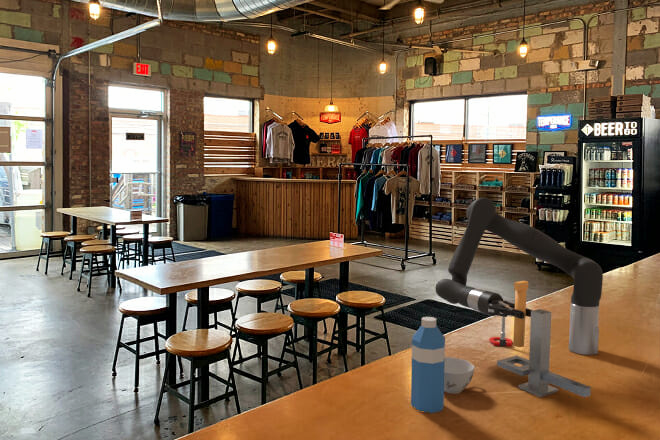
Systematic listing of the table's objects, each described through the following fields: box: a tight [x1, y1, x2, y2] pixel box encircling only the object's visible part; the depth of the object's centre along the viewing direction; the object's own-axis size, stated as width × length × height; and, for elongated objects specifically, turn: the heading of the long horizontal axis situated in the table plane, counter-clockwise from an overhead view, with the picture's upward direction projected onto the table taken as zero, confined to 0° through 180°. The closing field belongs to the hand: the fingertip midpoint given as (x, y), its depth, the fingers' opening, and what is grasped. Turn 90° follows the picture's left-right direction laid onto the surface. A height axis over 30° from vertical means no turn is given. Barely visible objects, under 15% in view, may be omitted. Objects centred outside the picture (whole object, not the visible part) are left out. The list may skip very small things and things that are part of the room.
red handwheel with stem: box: [488, 316, 513, 348], centre depth 207 cm, size 8×13×9 cm
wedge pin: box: [512, 280, 529, 348], centre depth 169 cm, size 4×3×20 cm
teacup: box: [444, 356, 475, 395], centre depth 166 cm, size 15×12×8 cm
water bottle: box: [410, 316, 446, 414], centre depth 153 cm, size 9×9×25 cm
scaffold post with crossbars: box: [496, 308, 592, 398], centre depth 162 cm, size 28×9×24 cm, turn 31°
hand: (527, 314), depth 167 cm, fingers closed on wedge pin, 3 cm apart
